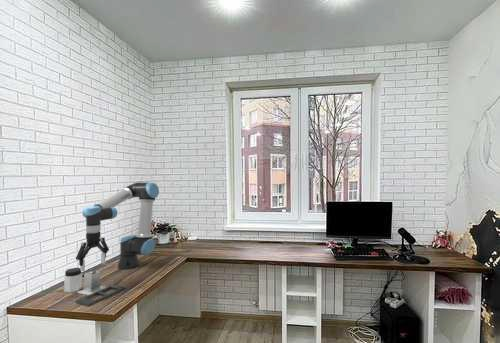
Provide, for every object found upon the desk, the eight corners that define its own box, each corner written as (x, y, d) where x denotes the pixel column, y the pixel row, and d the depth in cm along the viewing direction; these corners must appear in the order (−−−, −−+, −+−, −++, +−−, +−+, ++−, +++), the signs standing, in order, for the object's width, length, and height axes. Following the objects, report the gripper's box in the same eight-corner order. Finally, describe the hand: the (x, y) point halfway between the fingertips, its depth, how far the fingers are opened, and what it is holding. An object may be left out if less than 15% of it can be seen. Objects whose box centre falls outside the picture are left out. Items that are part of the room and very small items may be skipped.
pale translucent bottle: (100, 288, 162) (100, 270, 162) (91, 292, 156) (91, 273, 157) (93, 286, 164) (93, 269, 165) (83, 290, 159) (84, 272, 159)
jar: (69, 287, 164) (69, 267, 165) (83, 286, 166) (84, 267, 166) (61, 293, 155) (62, 272, 156) (77, 292, 157) (77, 272, 157)
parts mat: (95, 285, 168) (95, 284, 168) (106, 287, 164) (106, 287, 164) (76, 292, 157) (76, 292, 157) (88, 295, 153) (88, 294, 153)
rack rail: (113, 286, 166) (113, 284, 166) (125, 289, 162) (125, 287, 162) (75, 303, 144) (75, 300, 144) (88, 306, 140) (88, 304, 140)
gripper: (106, 227, 174) (106, 259, 174) (68, 235, 151) (68, 273, 151) (115, 228, 171) (115, 261, 171) (77, 237, 148) (77, 275, 148)
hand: (93, 267), depth 161 cm, fingers open, 13 cm apart
